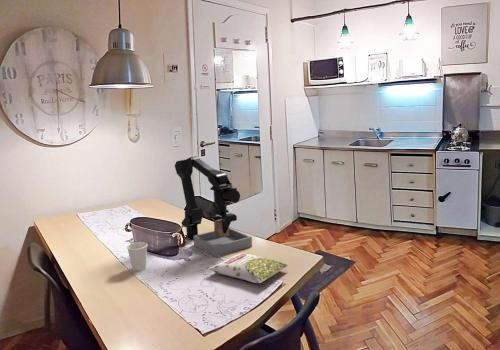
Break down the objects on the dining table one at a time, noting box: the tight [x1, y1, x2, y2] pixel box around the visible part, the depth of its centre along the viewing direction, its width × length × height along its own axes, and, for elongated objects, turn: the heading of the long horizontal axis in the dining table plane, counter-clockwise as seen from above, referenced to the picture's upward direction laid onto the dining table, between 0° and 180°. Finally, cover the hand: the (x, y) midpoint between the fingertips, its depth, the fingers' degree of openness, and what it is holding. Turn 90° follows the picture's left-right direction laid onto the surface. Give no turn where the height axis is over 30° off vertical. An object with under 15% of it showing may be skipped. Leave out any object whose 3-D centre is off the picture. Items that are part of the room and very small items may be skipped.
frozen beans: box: [207, 252, 289, 284], centre depth 165 cm, size 21×6×25 cm
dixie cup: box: [126, 241, 148, 272], centre depth 174 cm, size 8×8×10 cm
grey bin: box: [193, 227, 253, 257], centre depth 197 cm, size 20×20×4 cm
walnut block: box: [213, 219, 230, 238], centre depth 196 cm, size 5×5×7 cm
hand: (221, 232), depth 197 cm, fingers closed on walnut block, 5 cm apart
